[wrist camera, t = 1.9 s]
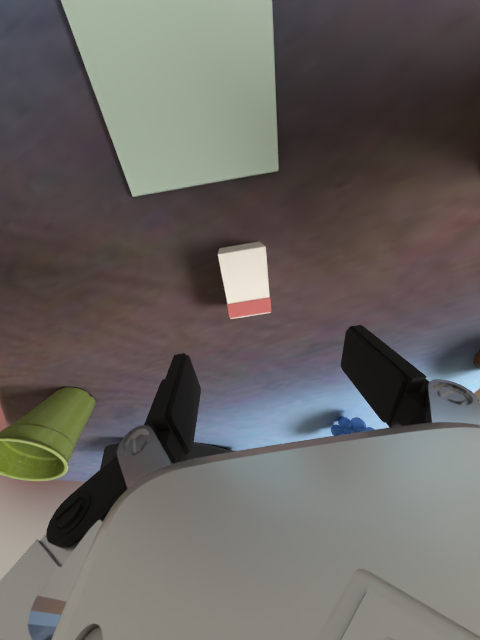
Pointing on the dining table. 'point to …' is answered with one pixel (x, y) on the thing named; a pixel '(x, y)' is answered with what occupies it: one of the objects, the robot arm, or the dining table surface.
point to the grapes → (349, 426)
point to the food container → (477, 359)
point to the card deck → (245, 279)
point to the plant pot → (45, 436)
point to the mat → (182, 87)
